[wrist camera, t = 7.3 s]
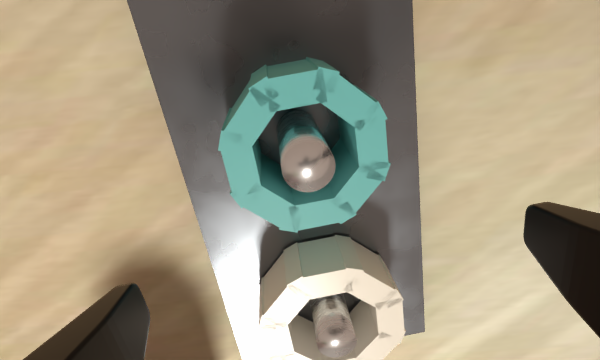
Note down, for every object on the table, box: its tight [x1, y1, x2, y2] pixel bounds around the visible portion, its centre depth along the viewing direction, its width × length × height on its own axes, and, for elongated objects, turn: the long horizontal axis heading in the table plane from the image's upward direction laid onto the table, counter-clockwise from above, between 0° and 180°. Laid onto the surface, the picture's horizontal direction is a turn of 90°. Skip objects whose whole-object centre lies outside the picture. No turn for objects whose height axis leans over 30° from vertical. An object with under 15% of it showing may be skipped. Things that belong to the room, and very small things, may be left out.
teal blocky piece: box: [218, 57, 391, 233], centre depth 16 cm, size 7×7×4 cm
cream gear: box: [259, 235, 406, 360], centre depth 21 cm, size 8×8×3 cm
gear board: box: [127, 0, 425, 360], centre depth 18 cm, size 12×22×6 cm, turn 9°
